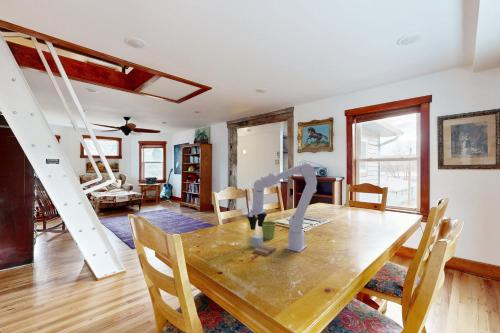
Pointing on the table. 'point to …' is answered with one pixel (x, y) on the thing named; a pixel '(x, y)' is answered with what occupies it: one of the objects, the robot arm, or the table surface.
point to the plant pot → (268, 229)
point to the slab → (264, 250)
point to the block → (256, 241)
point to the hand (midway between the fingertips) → (256, 228)
